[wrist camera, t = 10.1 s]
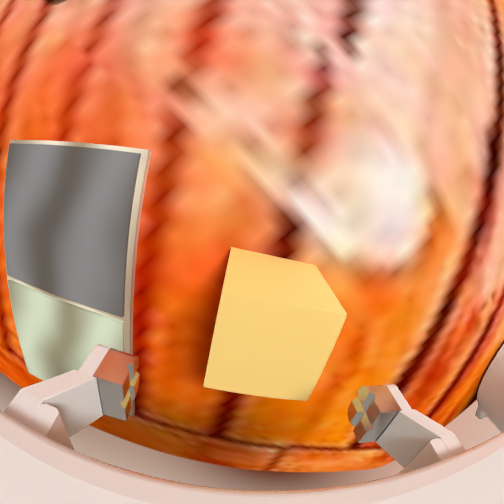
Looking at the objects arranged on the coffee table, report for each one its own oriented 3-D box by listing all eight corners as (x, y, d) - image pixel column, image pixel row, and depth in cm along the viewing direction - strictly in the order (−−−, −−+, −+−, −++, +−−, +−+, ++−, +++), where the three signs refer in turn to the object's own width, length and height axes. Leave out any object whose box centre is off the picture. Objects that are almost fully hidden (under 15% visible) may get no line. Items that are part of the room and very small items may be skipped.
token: (314, 264, 16) (347, 314, 11) (291, 335, 18) (307, 400, 12) (231, 246, 16) (221, 291, 10) (215, 321, 17) (203, 386, 12)
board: (152, 150, 14) (146, 149, 13) (135, 411, 20) (132, 418, 19) (15, 140, 13) (7, 139, 12) (30, 367, 19) (26, 372, 18)
